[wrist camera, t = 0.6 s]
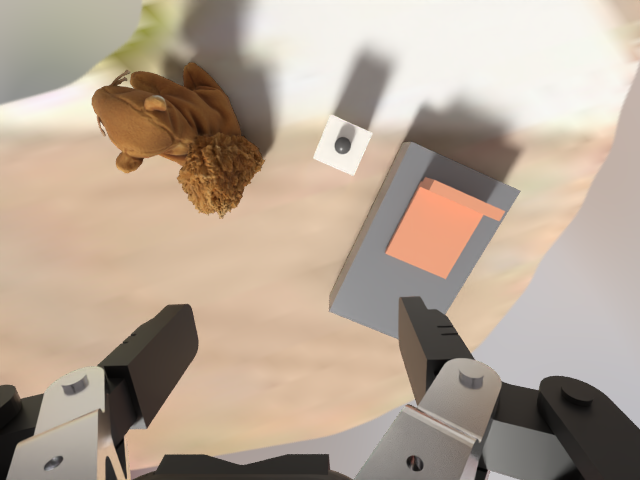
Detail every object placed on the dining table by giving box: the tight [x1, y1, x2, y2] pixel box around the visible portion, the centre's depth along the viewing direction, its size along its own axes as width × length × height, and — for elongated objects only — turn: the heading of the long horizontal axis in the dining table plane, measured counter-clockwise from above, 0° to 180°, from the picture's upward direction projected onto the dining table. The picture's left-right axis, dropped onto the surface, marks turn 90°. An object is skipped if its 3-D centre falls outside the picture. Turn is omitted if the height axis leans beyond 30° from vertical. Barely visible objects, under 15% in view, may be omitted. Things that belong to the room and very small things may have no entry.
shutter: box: [385, 177, 505, 279], centre depth 30 cm, size 8×7×4 cm
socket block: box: [329, 142, 520, 339], centre depth 35 cm, size 20×12×4 cm, turn 157°
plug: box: [313, 114, 373, 176], centre depth 30 cm, size 4×4×8 cm
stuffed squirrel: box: [92, 62, 265, 219], centre depth 28 cm, size 10×14×13 cm
